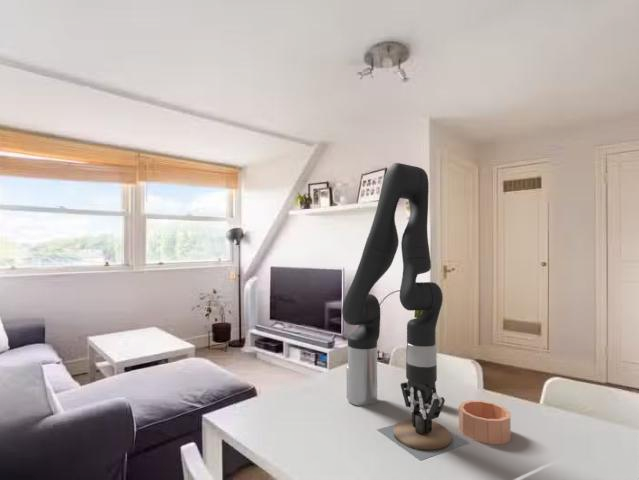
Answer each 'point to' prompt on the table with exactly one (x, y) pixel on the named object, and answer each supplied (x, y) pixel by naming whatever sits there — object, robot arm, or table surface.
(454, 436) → the mat
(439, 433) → the lid
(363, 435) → the table surface
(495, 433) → the bowl
